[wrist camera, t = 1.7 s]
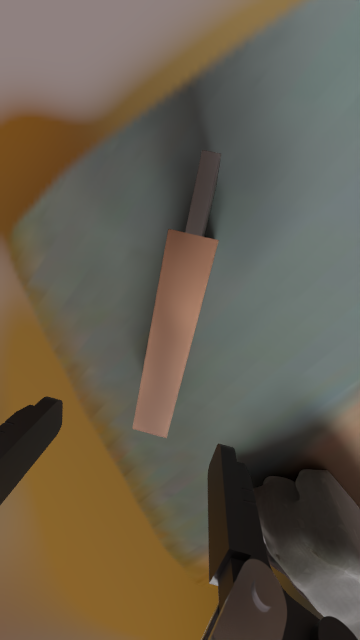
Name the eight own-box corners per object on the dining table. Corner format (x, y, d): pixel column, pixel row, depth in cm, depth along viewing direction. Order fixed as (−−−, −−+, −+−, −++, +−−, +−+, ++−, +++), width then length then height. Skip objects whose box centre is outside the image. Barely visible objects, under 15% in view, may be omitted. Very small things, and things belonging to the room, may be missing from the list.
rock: (217, 474, 25) (223, 570, 17) (303, 438, 21) (355, 537, 14) (297, 554, 28) (330, 664, 20) (382, 534, 25) (458, 656, 17)
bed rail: (229, 187, 15) (240, 157, 10) (175, 397, 22) (166, 438, 17) (190, 179, 15) (183, 146, 10) (148, 390, 22) (132, 428, 17)
